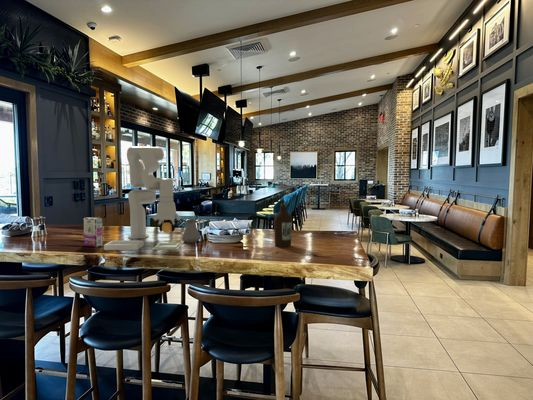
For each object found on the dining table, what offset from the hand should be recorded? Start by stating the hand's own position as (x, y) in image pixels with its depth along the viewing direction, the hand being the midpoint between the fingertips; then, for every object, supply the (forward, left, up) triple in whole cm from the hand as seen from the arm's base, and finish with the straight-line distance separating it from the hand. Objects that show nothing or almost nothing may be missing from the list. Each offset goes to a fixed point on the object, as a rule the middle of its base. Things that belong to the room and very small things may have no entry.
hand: (167, 230), depth 198 cm
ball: (0, 0, -1) cm, 1 cm away
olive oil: (0, +67, -10) cm, 68 cm away
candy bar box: (-7, -44, -10) cm, 46 cm away
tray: (0, 0, -10) cm, 10 cm away
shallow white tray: (0, -24, -10) cm, 26 cm away
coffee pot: (-21, +12, -10) cm, 26 cm away
